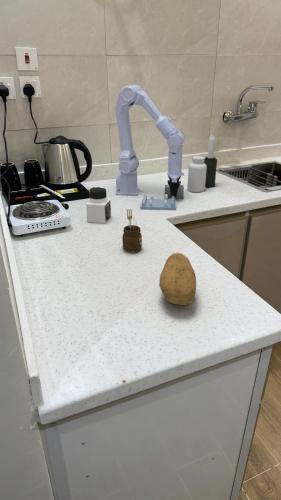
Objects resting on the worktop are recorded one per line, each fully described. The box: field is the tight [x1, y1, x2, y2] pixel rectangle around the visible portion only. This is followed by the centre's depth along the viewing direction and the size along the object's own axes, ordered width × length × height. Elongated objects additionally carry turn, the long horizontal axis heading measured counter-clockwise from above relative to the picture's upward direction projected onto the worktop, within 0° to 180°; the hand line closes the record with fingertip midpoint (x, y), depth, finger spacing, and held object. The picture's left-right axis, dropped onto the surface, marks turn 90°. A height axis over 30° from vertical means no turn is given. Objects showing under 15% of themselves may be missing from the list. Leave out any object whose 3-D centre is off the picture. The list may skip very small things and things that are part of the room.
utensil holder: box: [121, 208, 143, 254], centre depth 108 cm, size 6×6×12 cm
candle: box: [204, 130, 218, 189], centre depth 163 cm, size 5×5×25 cm
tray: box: [139, 193, 177, 211], centre depth 144 cm, size 14×10×4 cm
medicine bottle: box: [85, 186, 112, 224], centre depth 129 cm, size 7×7×12 cm
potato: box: [158, 252, 197, 306], centre depth 85 cm, size 9×16×9 cm, turn 173°
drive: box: [164, 184, 185, 200], centre depth 153 cm, size 8×4×5 cm, turn 86°
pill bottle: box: [186, 155, 207, 193], centre depth 160 cm, size 8×8×15 cm
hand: (173, 194), depth 154 cm, fingers open, 7 cm apart
